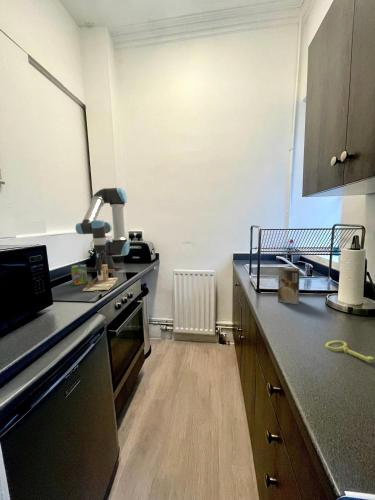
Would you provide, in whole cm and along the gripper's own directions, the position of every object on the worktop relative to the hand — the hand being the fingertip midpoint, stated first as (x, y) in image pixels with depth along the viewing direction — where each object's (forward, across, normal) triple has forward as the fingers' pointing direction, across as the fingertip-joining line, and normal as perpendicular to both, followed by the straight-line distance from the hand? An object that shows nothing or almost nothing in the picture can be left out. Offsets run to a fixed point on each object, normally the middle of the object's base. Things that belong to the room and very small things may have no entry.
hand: (103, 277), depth 148 cm
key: (+4, +87, +98) cm, 131 cm away
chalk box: (+4, -2, -16) cm, 16 cm away
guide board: (+3, +6, 0) cm, 7 cm away
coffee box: (+4, +47, +101) cm, 111 cm away
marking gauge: (+2, 0, +2) cm, 3 cm away
